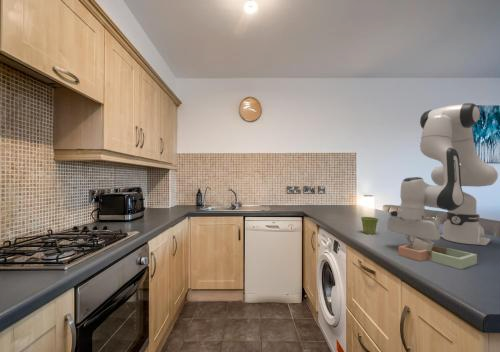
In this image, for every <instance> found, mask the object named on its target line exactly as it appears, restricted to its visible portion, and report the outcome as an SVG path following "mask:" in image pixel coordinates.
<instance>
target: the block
mask: <svg viewBox="0 0 500 352" xmlns="http://www.w3.org/2000/svg"><path fill="white" fill-rule="evenodd" d="M433 245H435V242H434V241H432V240H428V239H423V238H415V240H414V242H413V245H412V246H410V249H413V250H417V251H421V250H425V249H427V250H432V247H433Z"/></svg>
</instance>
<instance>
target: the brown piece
mask: <svg viewBox="0 0 500 352" xmlns="http://www.w3.org/2000/svg"><path fill="white" fill-rule="evenodd" d="M403 245H407V243H401V245H400V246H403ZM408 246H409V249H411V246H410V245H408ZM446 248H447V247H443V246H439V245H435V244H434V245H433V247H432V250H428V259H427V260H430V261H431V260H432V252H437V253H441V254H445V255H446ZM425 250H427V249H425Z"/></svg>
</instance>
